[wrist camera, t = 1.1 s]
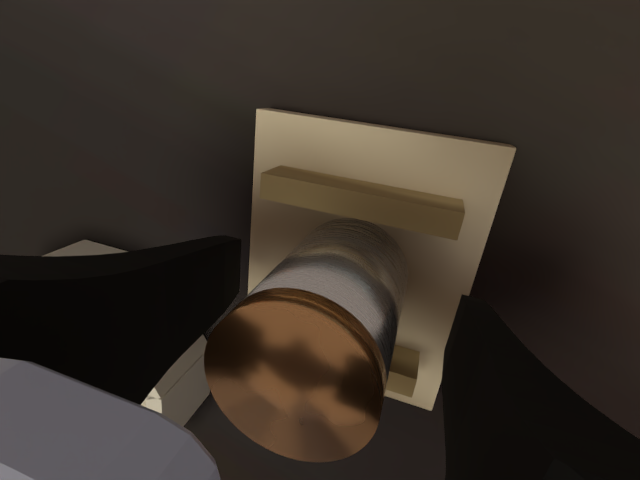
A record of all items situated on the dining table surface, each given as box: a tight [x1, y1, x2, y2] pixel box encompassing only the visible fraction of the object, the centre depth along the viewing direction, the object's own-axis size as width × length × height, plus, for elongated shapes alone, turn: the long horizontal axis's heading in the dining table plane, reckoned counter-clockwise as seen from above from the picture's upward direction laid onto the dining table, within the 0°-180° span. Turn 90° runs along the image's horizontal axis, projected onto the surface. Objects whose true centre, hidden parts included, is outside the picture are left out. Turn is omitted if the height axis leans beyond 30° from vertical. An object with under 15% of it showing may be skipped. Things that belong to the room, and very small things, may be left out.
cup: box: [43, 240, 210, 426], centre depth 18 cm, size 11×11×4 cm
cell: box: [204, 218, 408, 462], centre depth 10 cm, size 4×4×6 cm
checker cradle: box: [248, 108, 516, 411], centre depth 13 cm, size 10×8×2 cm
